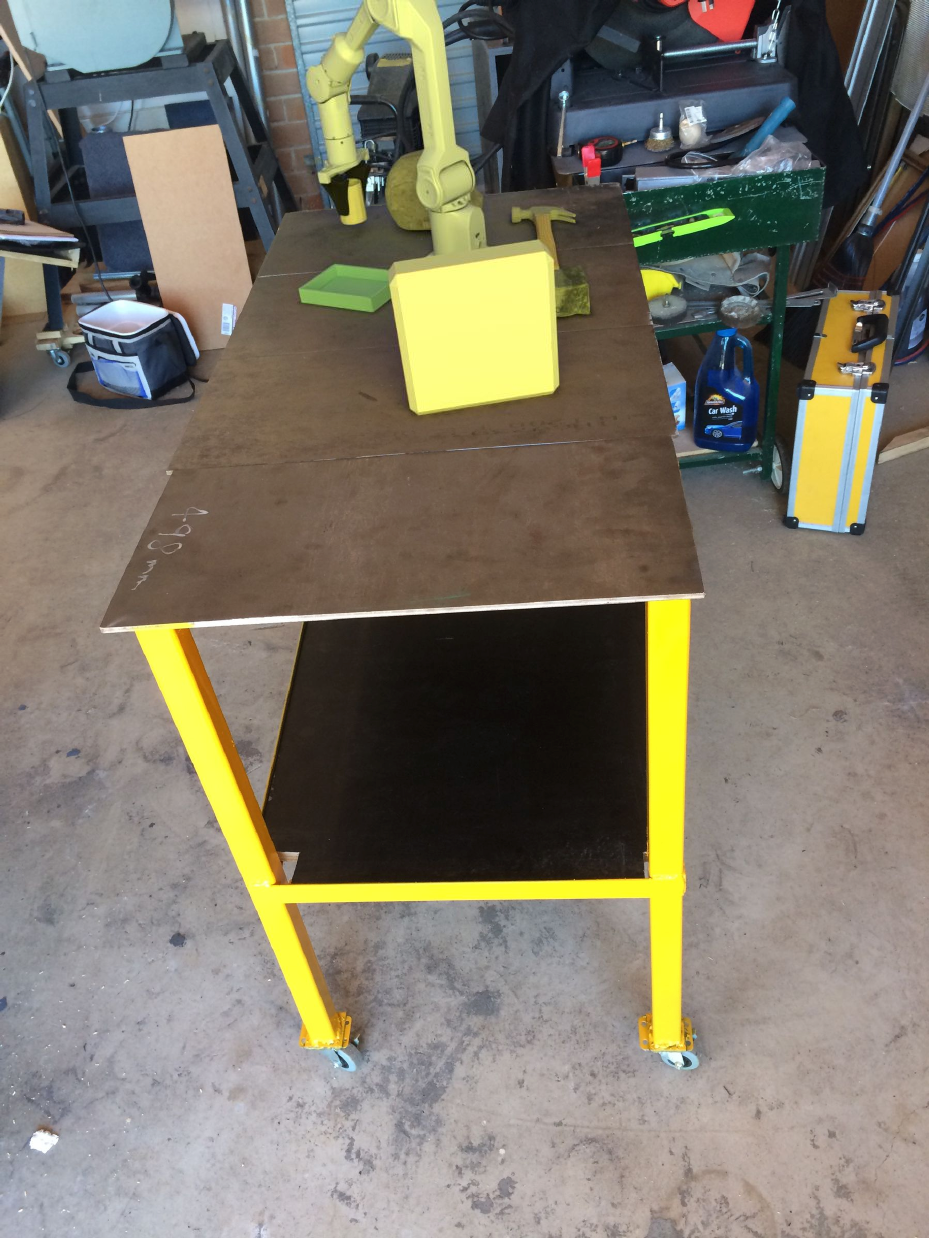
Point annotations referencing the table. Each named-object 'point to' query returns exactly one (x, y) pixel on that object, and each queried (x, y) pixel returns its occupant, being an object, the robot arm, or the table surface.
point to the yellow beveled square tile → (476, 326)
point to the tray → (348, 288)
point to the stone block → (571, 292)
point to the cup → (355, 203)
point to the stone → (411, 194)
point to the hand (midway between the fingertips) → (352, 209)
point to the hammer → (543, 223)
